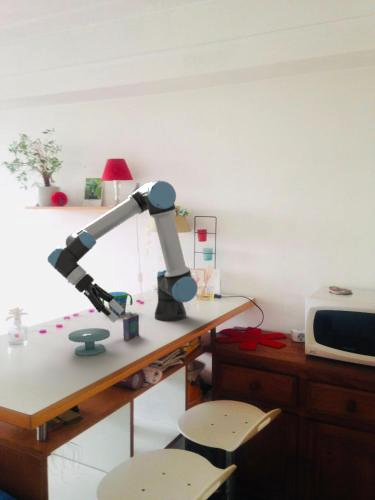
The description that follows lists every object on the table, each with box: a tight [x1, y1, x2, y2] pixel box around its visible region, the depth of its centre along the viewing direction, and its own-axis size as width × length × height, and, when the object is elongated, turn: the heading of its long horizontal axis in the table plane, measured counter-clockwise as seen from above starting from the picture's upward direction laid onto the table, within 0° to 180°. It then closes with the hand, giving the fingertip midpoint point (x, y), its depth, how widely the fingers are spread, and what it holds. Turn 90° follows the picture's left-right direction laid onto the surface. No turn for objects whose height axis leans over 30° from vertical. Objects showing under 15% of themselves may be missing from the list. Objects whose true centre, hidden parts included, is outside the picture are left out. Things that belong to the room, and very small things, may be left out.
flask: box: [122, 311, 140, 342], centre depth 180 cm, size 9×3×11 cm, turn 151°
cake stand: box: [68, 327, 111, 357], centre depth 165 cm, size 15×15×6 cm
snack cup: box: [101, 291, 134, 316], centre depth 222 cm, size 16×10×10 cm
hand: (119, 316), depth 179 cm, fingers open, 13 cm apart
